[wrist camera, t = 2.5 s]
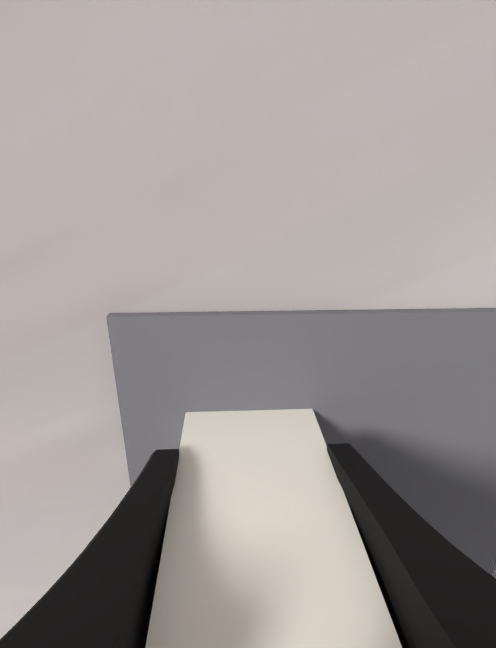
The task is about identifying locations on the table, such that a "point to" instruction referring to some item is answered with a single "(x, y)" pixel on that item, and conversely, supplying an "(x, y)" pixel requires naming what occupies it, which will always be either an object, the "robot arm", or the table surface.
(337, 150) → the table surface
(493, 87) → the table surface
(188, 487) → the domino
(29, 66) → the table surface
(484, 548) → the runner mat
